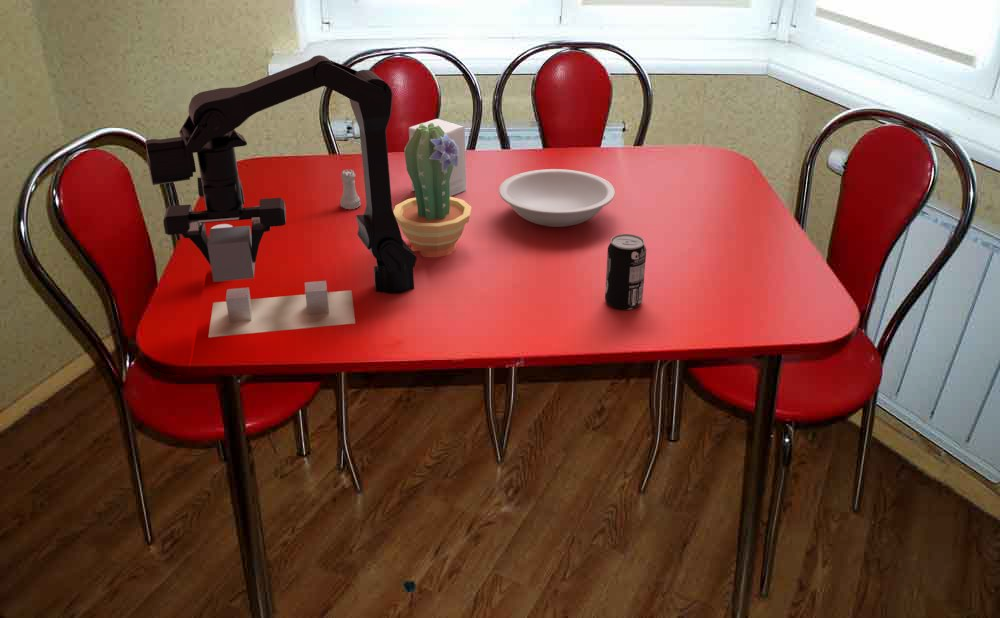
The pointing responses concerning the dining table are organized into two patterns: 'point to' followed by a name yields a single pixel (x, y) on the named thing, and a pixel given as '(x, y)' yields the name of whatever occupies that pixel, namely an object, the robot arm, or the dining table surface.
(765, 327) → the dining table surface
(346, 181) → the rook chess piece
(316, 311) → the grey cube
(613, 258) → the beverage can
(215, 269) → the gray matte cube
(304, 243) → the dining table surface
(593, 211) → the soup bowl
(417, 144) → the potted cactus
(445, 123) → the supplement box
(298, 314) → the board
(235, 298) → the brushed metal cube
